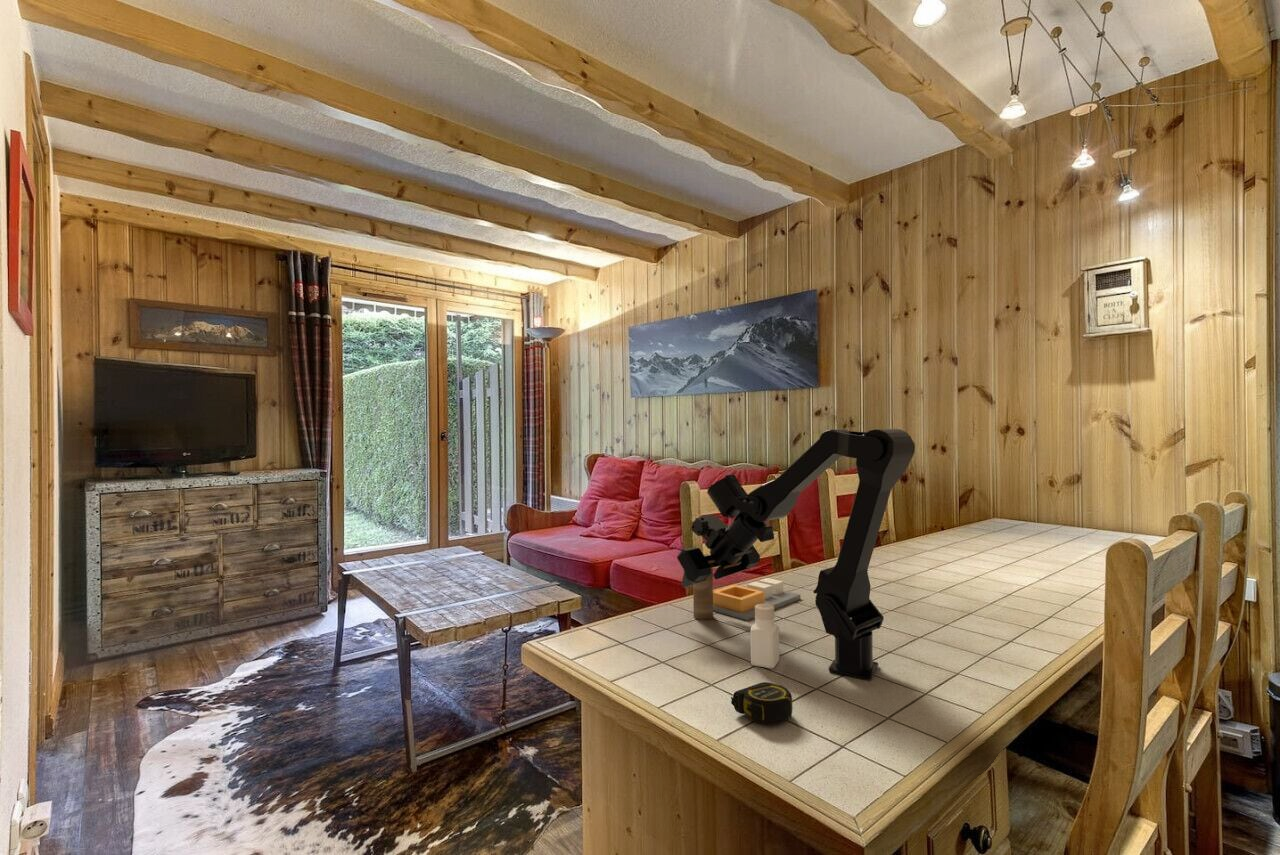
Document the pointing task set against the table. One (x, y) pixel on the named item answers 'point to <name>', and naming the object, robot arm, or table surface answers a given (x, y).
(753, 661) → the pepper shaker
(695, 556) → the robot arm
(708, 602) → the peg
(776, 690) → the tape measure
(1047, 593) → the table surface
